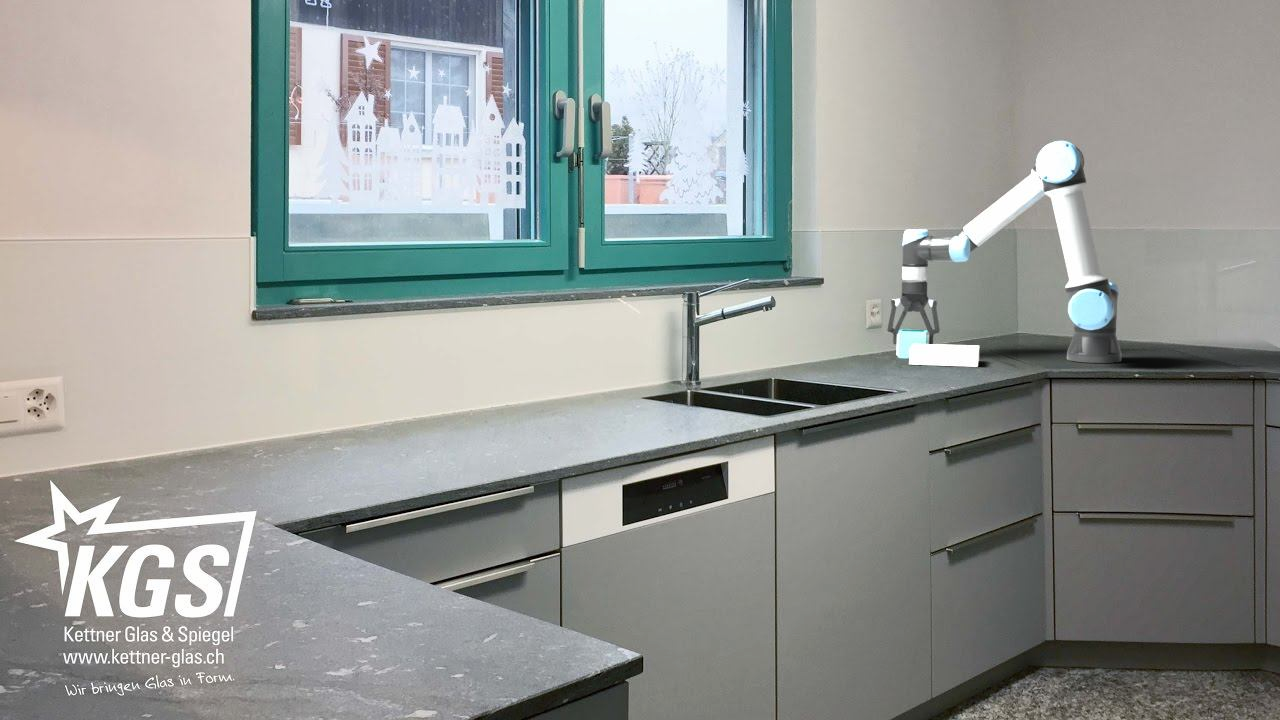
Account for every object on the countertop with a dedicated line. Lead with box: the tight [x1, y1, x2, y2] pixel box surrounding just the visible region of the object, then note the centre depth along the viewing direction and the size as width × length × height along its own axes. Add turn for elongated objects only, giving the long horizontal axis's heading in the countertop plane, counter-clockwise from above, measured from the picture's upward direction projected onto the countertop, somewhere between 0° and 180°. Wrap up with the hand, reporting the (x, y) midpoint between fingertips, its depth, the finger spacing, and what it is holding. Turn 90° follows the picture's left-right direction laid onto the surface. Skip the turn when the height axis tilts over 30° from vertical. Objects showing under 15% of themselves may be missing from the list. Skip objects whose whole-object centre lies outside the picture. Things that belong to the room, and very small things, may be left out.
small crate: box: [897, 328, 929, 359], centre depth 367 cm, size 8×8×8 cm
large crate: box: [908, 343, 980, 368], centre depth 352 cm, size 19×14×4 cm
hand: (912, 355), depth 367 cm, fingers closed on small crate, 8 cm apart
